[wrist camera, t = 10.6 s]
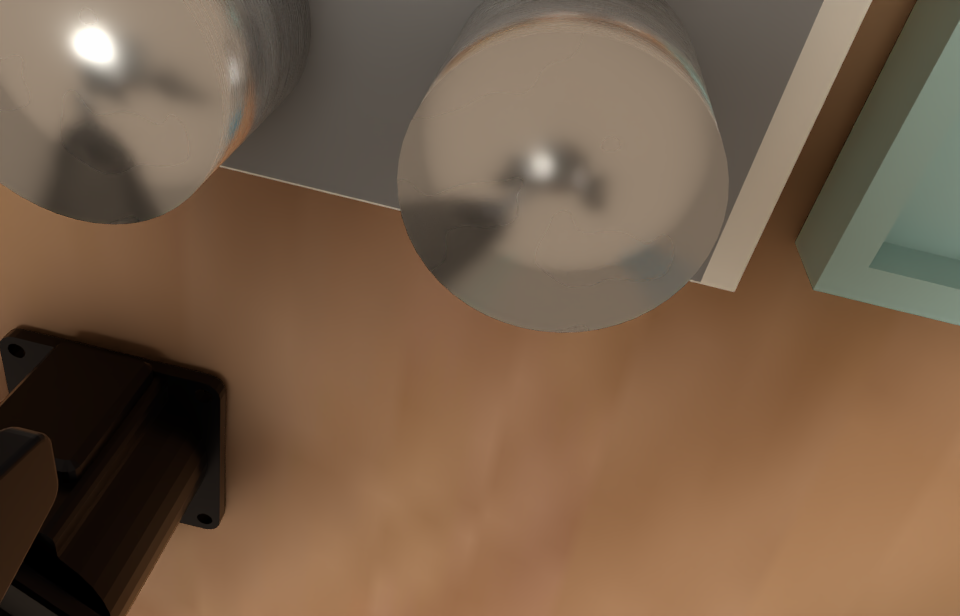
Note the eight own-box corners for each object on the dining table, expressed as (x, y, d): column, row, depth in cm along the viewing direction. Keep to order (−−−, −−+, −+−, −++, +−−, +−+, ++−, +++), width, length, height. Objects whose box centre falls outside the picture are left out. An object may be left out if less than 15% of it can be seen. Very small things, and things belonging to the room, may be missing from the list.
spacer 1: (302, 150, 15) (219, 254, 12) (76, 94, 15) (-67, 183, 12) (321, -101, 13) (223, -56, 10) (50, -170, 13) (-141, -147, 10)
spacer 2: (651, 235, 15) (663, 362, 12) (427, 180, 15) (378, 293, 12) (740, 0, 13) (786, 81, 10) (471, -66, 13) (424, -8, 10)
